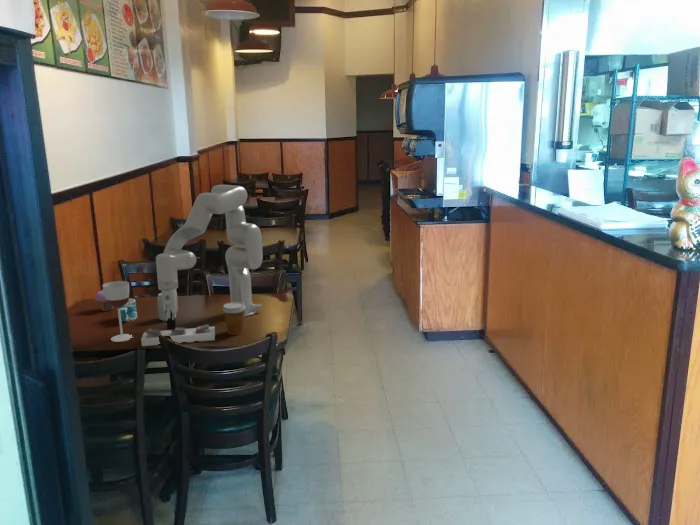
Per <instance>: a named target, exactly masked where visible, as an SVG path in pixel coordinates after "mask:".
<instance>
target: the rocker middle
mask: <svg viewBox="0 0 700 525" xmlns="http://www.w3.org/2000/svg"><path fill="white" fill-rule="evenodd" d="M185 329H186V327H176V328H175V329H173V330H171V333H184V332H185Z"/></svg>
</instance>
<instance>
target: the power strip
mask: <svg viewBox="0 0 700 525" xmlns="http://www.w3.org/2000/svg"><path fill="white" fill-rule="evenodd" d="M215 330H216V327H215V326H209V329H206V330H203V331H199V332H196V327H194V328H185V332H184V333H171V330H167V329H166V330H161V333H160V335H162V336H170V337H171V339H172V340H173V341H175V342H177V343H176V344H183V343H182V342H187V343H195V342H194V341H199V342H207V341H209V342H211V341H215V340H216V339H215V338H216V331H215ZM146 333H147V331H145V332H143V334H142V336H141V339H140V342H141V347H149V346H150V347H151V346H152V347H153V346H159V345H158V344H160V342H159V336H160V335H152V334H146Z"/></svg>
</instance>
